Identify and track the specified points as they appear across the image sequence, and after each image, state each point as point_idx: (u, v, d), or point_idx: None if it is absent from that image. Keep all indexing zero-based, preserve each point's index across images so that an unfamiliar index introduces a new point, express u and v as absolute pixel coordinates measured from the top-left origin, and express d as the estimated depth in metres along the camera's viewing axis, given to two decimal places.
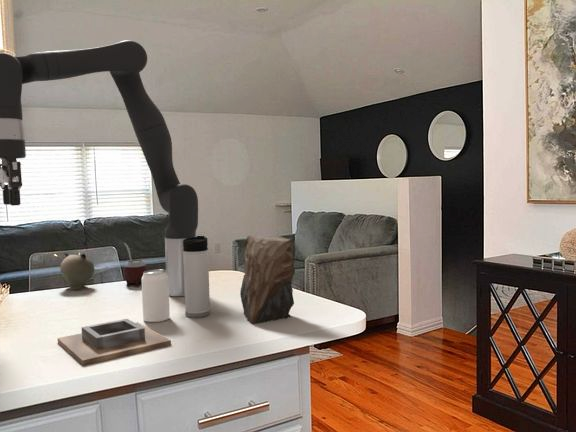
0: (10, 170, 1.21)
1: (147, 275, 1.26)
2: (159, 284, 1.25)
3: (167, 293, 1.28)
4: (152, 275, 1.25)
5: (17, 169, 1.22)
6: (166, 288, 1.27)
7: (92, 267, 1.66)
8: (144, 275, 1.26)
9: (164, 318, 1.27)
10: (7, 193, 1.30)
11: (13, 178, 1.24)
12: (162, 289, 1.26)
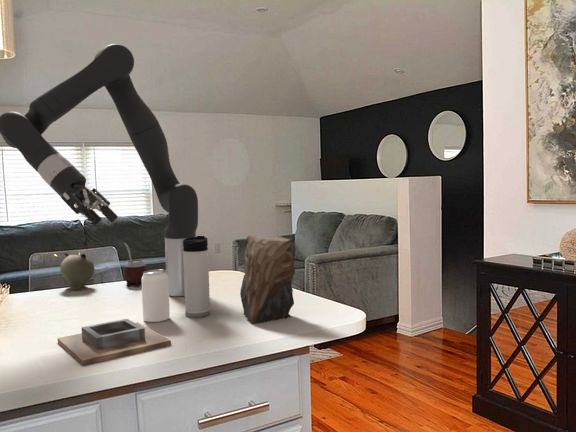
0: (66, 202, 1.22)
1: (147, 275, 1.26)
2: (159, 284, 1.25)
3: (167, 293, 1.28)
4: (152, 275, 1.25)
5: (70, 197, 1.22)
6: (166, 288, 1.27)
7: (92, 267, 1.66)
8: (144, 275, 1.26)
9: (164, 318, 1.27)
10: (106, 212, 1.32)
11: None
12: (162, 289, 1.26)
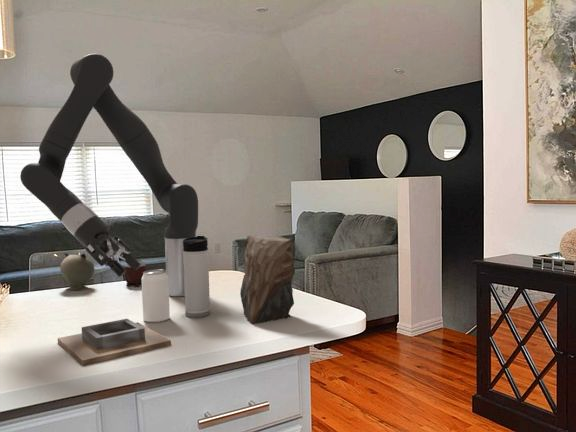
0: (91, 254, 1.22)
1: (147, 275, 1.26)
2: (159, 284, 1.25)
3: (167, 293, 1.28)
4: (152, 275, 1.25)
5: (94, 249, 1.22)
6: (166, 288, 1.27)
7: (92, 267, 1.66)
8: (144, 275, 1.26)
9: (164, 318, 1.27)
10: (129, 260, 1.33)
11: None
12: (162, 289, 1.26)
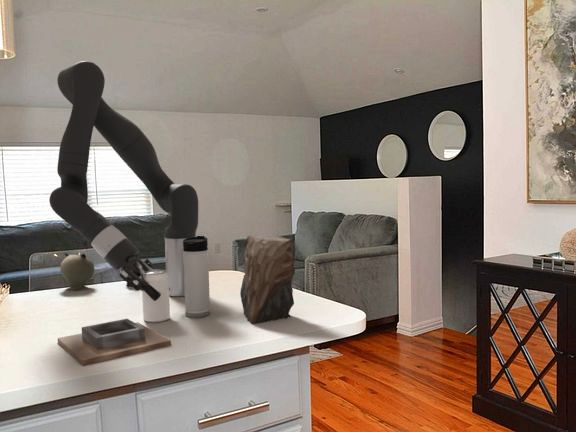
0: (126, 280, 1.22)
1: (147, 275, 1.25)
2: (159, 284, 1.25)
3: (167, 293, 1.28)
4: (153, 275, 1.25)
5: (129, 275, 1.22)
6: (166, 288, 1.27)
7: (92, 267, 1.66)
8: None
9: (164, 318, 1.27)
10: None
11: None
12: (162, 289, 1.26)
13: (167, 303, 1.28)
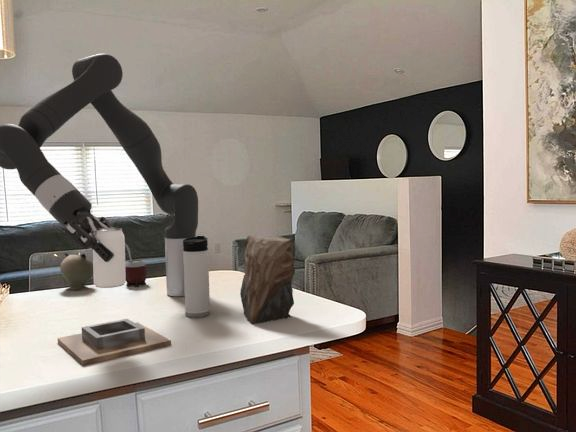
0: (71, 236, 1.04)
1: (98, 232, 1.07)
2: (112, 242, 1.07)
3: (123, 255, 1.09)
4: (104, 231, 1.07)
5: (75, 230, 1.04)
6: (121, 248, 1.08)
7: (92, 267, 1.66)
8: None
9: (117, 283, 1.08)
10: None
11: None
12: (115, 249, 1.07)
13: (122, 266, 1.09)
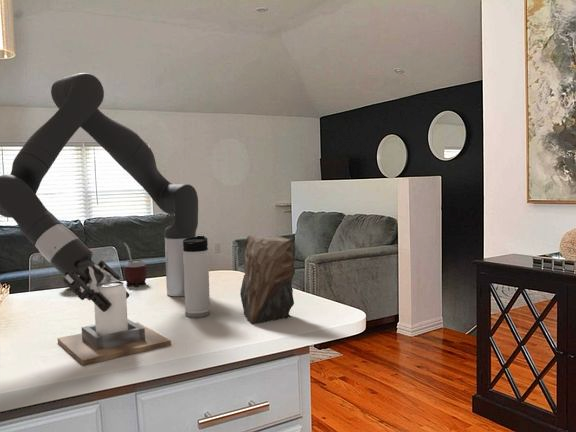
0: (69, 286, 1.03)
1: (100, 288, 1.07)
2: (114, 298, 1.07)
3: (125, 309, 1.09)
4: (106, 288, 1.06)
5: (73, 280, 1.03)
6: (123, 303, 1.08)
7: None
8: None
9: None
10: None
11: (87, 285, 1.06)
12: (117, 305, 1.07)
13: (124, 321, 1.09)
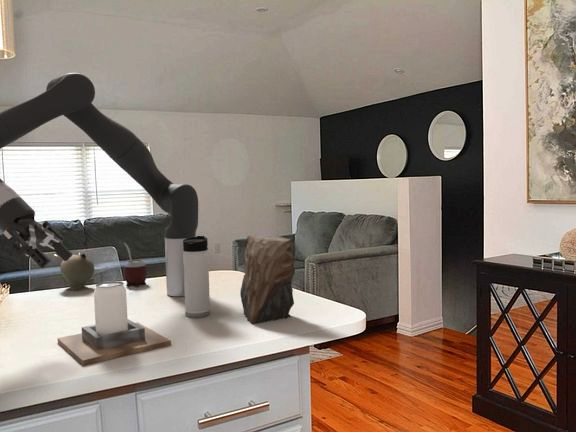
0: (7, 241, 1.04)
1: (100, 288, 1.07)
2: (114, 298, 1.07)
3: (125, 309, 1.09)
4: (106, 288, 1.06)
5: (11, 235, 1.04)
6: (123, 303, 1.08)
7: (92, 267, 1.66)
8: (97, 288, 1.07)
9: None
10: (59, 250, 1.15)
11: (26, 242, 1.07)
12: (117, 305, 1.07)
13: (124, 321, 1.09)
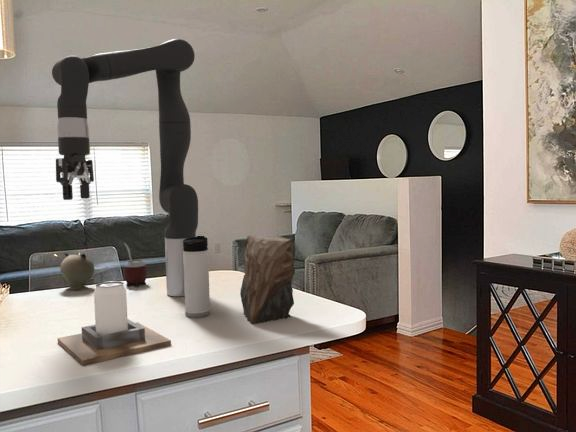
0: (56, 166, 1.28)
1: (100, 288, 1.07)
2: (114, 298, 1.07)
3: (125, 309, 1.09)
4: (106, 288, 1.06)
5: (62, 165, 1.28)
6: (123, 303, 1.08)
7: (92, 267, 1.66)
8: (97, 288, 1.07)
9: None
10: (83, 188, 1.39)
11: (67, 174, 1.31)
12: (117, 305, 1.07)
13: (124, 321, 1.09)
